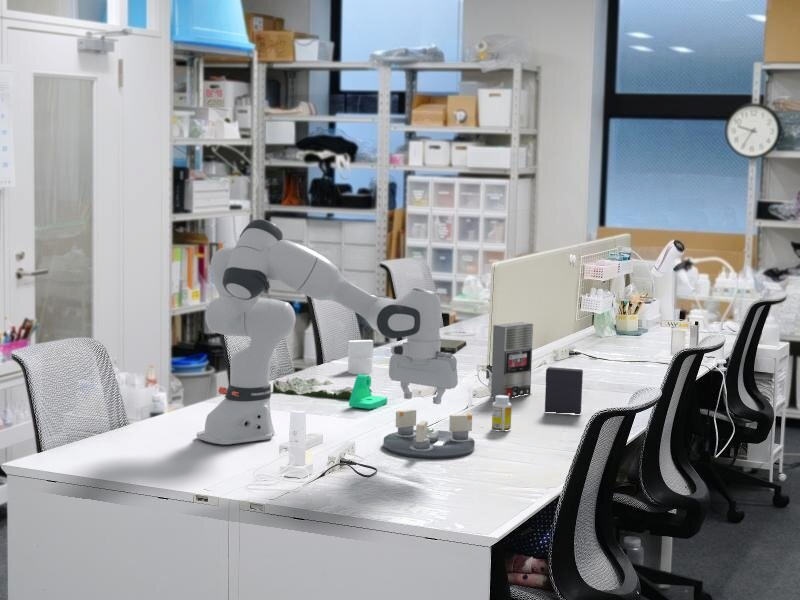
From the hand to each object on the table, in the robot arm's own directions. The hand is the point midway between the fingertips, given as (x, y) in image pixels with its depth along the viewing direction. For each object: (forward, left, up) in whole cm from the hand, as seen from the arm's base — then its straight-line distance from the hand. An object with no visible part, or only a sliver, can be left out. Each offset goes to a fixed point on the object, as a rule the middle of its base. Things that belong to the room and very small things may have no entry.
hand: (422, 401), depth 312 cm
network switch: (+124, +110, -16) cm, 166 cm away
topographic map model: (+44, +82, -16) cm, 94 cm away
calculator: (+69, +5, -15) cm, 71 cm away
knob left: (0, 0, -13) cm, 13 cm away
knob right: (+16, 0, -13) cm, 20 cm away
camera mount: (+32, +53, -15) cm, 63 cm away
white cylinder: (+67, +94, -14) cm, 116 cm away
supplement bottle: (+39, +5, -15) cm, 42 cm away
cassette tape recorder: (+77, +32, -15) cm, 85 cm away
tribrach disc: (+8, +5, -15) cm, 17 cm away
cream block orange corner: (+8, +14, -13) cm, 20 cm away
